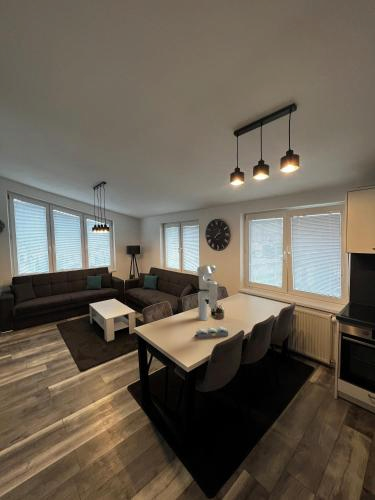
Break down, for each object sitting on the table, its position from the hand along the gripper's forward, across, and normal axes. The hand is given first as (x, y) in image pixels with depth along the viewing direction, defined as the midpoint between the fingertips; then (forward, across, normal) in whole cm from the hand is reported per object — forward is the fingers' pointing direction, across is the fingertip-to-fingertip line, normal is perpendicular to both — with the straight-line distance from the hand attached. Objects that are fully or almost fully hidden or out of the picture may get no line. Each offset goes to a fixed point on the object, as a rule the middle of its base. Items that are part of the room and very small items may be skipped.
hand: (212, 315), depth 190 cm
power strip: (+19, -1, -1) cm, 20 cm away
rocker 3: (+13, 0, +10) cm, 16 cm away
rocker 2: (+13, 0, 0) cm, 13 cm away
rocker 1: (+13, 0, -9) cm, 16 cm away
